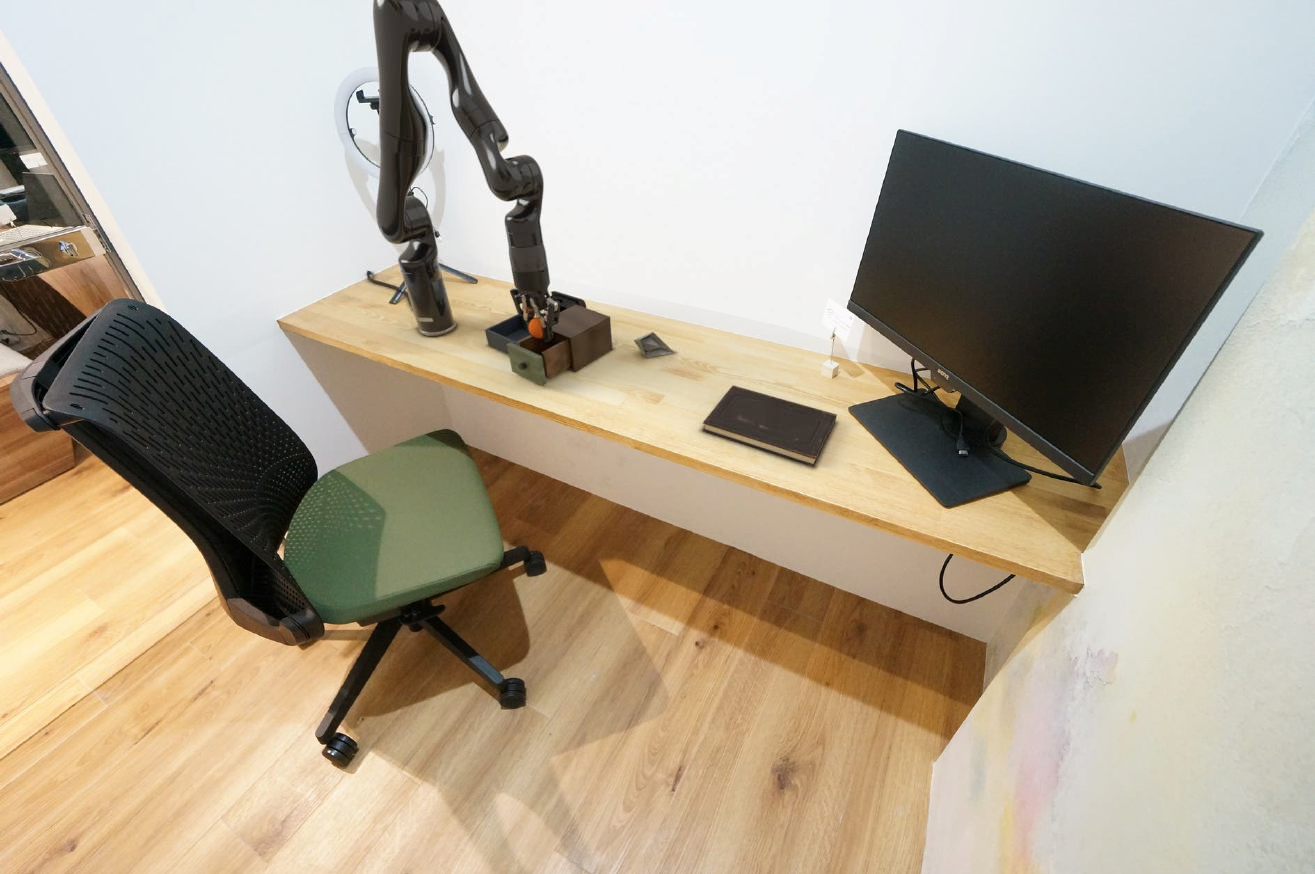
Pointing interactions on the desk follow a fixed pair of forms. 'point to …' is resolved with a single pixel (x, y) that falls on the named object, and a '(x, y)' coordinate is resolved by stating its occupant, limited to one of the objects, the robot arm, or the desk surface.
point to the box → (507, 333)
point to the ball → (536, 328)
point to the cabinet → (584, 334)
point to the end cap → (566, 300)
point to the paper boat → (652, 345)
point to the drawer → (539, 357)
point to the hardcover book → (771, 424)
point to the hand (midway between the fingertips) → (541, 336)
